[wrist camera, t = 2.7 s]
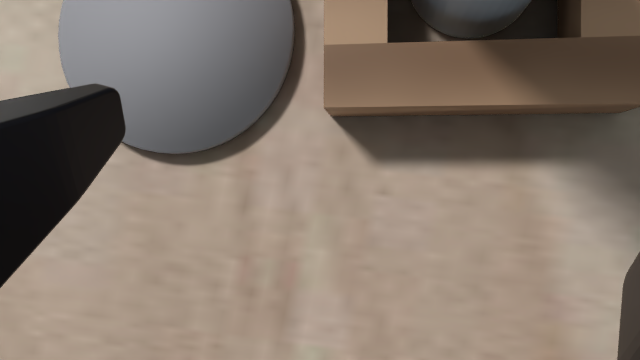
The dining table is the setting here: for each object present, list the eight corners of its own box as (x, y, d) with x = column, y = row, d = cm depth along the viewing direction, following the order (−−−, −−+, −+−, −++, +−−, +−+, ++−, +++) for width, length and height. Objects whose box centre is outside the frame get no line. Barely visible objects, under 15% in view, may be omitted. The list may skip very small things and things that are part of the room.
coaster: (294, 153, 22) (291, 152, 21) (65, 154, 23) (57, 153, 22) (295, -91, 22) (292, -99, 21) (67, -77, 23) (59, -84, 22)
